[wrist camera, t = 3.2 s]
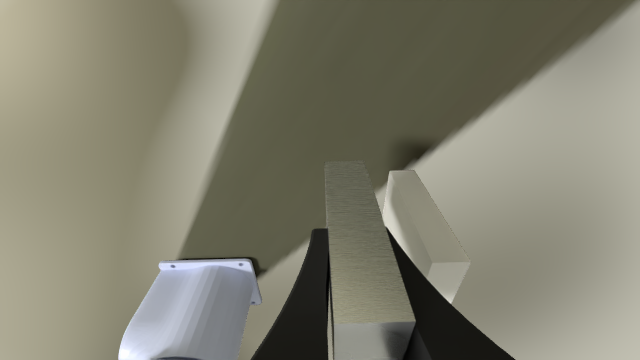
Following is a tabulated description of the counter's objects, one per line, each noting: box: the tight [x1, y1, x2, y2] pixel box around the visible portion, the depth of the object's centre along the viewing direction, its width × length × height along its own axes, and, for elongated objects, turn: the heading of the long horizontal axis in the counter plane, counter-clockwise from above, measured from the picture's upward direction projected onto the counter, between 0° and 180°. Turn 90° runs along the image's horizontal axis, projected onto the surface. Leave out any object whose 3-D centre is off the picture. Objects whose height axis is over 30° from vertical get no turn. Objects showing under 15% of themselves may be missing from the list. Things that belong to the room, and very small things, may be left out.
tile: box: [382, 170, 471, 304], centre depth 19 cm, size 2×8×9 cm, turn 1°
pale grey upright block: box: [325, 160, 416, 360], centre depth 11 cm, size 2×5×8 cm, turn 2°
